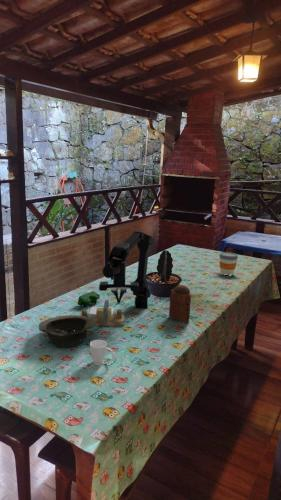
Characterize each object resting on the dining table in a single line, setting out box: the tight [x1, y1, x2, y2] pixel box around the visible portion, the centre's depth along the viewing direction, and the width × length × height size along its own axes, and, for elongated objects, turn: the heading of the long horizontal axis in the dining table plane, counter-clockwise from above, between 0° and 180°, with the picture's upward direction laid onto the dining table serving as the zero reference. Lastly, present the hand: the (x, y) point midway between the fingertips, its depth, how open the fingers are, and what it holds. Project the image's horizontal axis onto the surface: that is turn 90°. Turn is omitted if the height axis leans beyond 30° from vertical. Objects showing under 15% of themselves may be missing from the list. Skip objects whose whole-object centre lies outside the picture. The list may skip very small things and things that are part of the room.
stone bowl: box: [38, 314, 97, 349], centre depth 161 cm, size 25×25×9 cm
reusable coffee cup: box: [218, 251, 238, 275], centre depth 261 cm, size 13×13×15 cm
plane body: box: [79, 309, 125, 326], centre depth 178 cm, size 22×7×6 cm, turn 91°
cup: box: [89, 339, 115, 366], centre depth 142 cm, size 7×10×8 cm
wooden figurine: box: [168, 284, 192, 323], centre depth 184 cm, size 12×6×18 cm, turn 61°
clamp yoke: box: [102, 299, 110, 327], centre depth 178 cm, size 2×11×9 cm, turn 1°
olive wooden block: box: [96, 307, 112, 319], centre depth 178 cm, size 7×4×4 cm, turn 91°
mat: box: [88, 306, 115, 314], centre depth 191 cm, size 12×9×1 cm
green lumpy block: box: [77, 290, 101, 307], centre depth 199 cm, size 12×6×9 cm, turn 138°
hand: (118, 303), depth 177 cm, fingers closed
